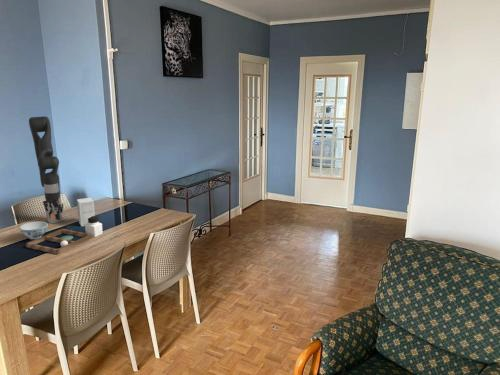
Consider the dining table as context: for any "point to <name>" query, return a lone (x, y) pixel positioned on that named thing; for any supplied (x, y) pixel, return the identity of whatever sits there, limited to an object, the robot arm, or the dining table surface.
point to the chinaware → (34, 229)
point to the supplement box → (85, 210)
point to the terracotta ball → (53, 216)
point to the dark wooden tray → (58, 241)
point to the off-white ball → (63, 243)
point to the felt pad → (67, 237)
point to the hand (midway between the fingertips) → (54, 218)
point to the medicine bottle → (94, 226)
